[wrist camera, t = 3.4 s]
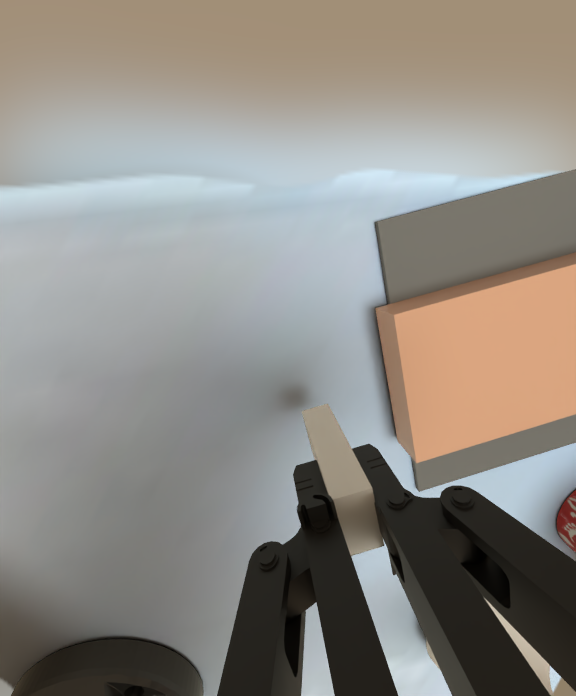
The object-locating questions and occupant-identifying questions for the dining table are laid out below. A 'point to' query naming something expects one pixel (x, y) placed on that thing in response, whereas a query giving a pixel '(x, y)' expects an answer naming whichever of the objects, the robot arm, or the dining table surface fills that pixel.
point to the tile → (482, 358)
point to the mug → (568, 521)
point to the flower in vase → (526, 649)
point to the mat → (476, 263)
